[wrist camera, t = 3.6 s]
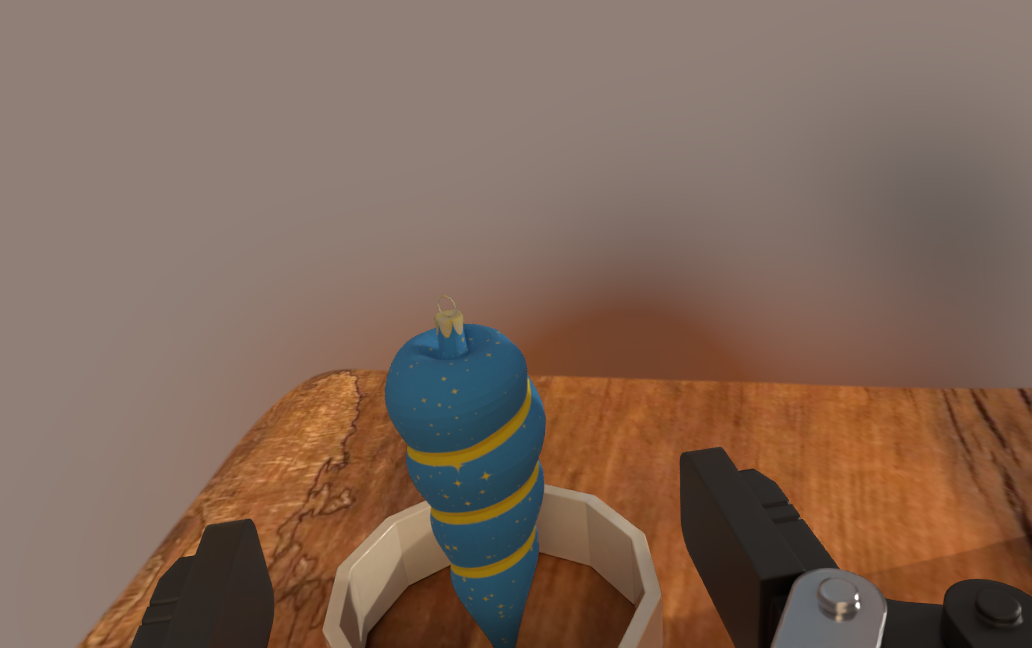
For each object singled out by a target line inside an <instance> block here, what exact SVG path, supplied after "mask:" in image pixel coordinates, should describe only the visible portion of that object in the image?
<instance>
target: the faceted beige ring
mask: <svg viewBox="0 0 1032 648" xmlns="http://www.w3.org/2000/svg"><path fill="white" fill-rule="evenodd" d="M430 511H431V506H430V505H429V504H428V502H427V501H426V500H425V501H423V502H421V503H419V504H416V505H414V506H412V507H410V508H407V509H405V510H403V511H401V512H399V513H396V514H394V515H392V516H390V517H388V518H386V519H385V520H384V521H383V522H382V523H381V524H380V525H379V526H378V527H377V528H376V529H375V530H374V531H373V532H372V533H371V534H370V535H369V536H368V537H367V538H366V539H365V540H364V541H363V542H362V543H361V544H360V545H359V546H358V547H357V548H356V549H355V550H354V551H353V552H352V553H351V554H350V555H349V556H348V557H347V558H346V559H345V561H344V562H343V563H342V564H341V565H340V566H339V567H338V568H337V572H336V577H335V581H334V585H333V589H332V593H331V597H330V601H329V605H328V609H327V614H326V618H325V622H324V626H323V634H324V638H325V642H326V645H327V648H365V645H366V640H367V634H368V633H369V631H370V630H371V629H372V628H373V627H374V626H375V624H376V623H377V622H378V621H379V620H380V619H381V617H382V616H383V615H384V614H385V613H386V612H387V610H388V609H389V608H390V607H391V606H392V604H393V603H394V602H395V601H396V600H397V599H398V597H399V596H400V595H401V594H402V593H403V592H404V590H405V589H406V588H407V587H408V586H409V585H411V584H413V583H415V582H417V581H419V580H421V579H423V578H425V577H427V576H429V575H431V574H433V573H435V572H437V571H439V570H441V569H443V568H445V567H447V566H449V565H451V562H450V560H449V559H448V557H447V556H446V555H445V553H444V552H443V550H442V549H441V547H440V545H439V544H438V542H437V540H436V538H435V536H434V534H433V531H432V527H431V522H430ZM536 527H537V531H538V536H539V552H541V553H544V554H548V555H552V556H555V557H559V558H563V559H566V560H570V561H574V562H577V563H581V564H585V565H588V566H591V567H592V568H593V569H594V570H596V571H597V572H598V573H599V574H600V575H601V576H602V577H603V578H605V579H606V580H607V581H608V582H609V583H610V584H611V585H612V586H614V587H615V588H616V589H617V590H618V591H619V592H620V593H621V594H622V595H624V596H625V597H626V598H627V599H628V600H629V601H630V602H631V603H633V604H634V606H635V610H636V612H635V614H634V616H633V618H632V620H631V622H630V624H629V626H628V628H627V630H626V632H625V634H624V636H623V638H622V640H621V642H620V644H619V646H618V648H664V636H663V608H662V592H661V588H660V585H659V581H658V578H657V574H656V571H655V568H654V564H653V561H652V557H651V554H650V550H649V547H648V543H647V540H646V536H645V534H644V533H643V532H641V531H640V530H639V529H638V528H636V527H635V526H634V525H632V524H631V523H630V522H629V521H627V520H626V519H625V518H623V517H622V516H621V515H619V514H618V513H617V512H616V511H614V510H613V509H612V508H610V507H609V506H608V505H606V504H605V503H604V502H603V501H601V500H600V499H599V498H597V497H596V496H595V495H591V494H587V493H582V492H578V491H573V490H569V489H564V488H560V487H556V486H551V485H547V484H544V495H543V501H542V505H541V509H540V512H539V515H538V518H537V521H536Z"/></svg>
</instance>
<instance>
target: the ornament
mask: <svg viewBox="0 0 1032 648" xmlns="http://www.w3.org/2000/svg"><path fill="white" fill-rule="evenodd" d="M441 297H447V298H449V299H450V300H451V301H452V302H453V304H454V307H455V310H445V311H441V309H440V307H439V299H440V298H441ZM437 306H438V309H439V311H440V313H438V314H436V315H435V316H434V320H435V326H436V328H434V329H431V330H429V331H426V332H424V333H421V334H419V335H417V336H415V337H414V338H412V339H410V340H409V341H408V342H406V344H405V345H404V346H403V347H402V348H401V349H400V350H399V351H398V352H397V354H396V356H395V358H394V360H393V362H392V363H391V366H390V369H389V372H388V375H387V380H386V387H385V400H386V407H387V410H388V413H389V416H390V418H391V420H392V422H393V424H394V426H395V428H396V429H397V431H398V432H399V434H400V435H401V436H402V438H403V439H404V440H405V442H406V443H407V445H408V447H407V453H406V464H407V469H408V473H409V476H410V477H411V479H412V481H413V483H414V485H415V486H416V488H417V489H418V491H419V492H420V494H421V495H422V496H423V497H424V499H425V500H426V501H427V502H428V504H429V505H430V506H431V511H430V522H431V527H432V531H433V534H434V536H435V538H436V540H437V542H438V544H439V545H440V547H441V549H442V550H443V552H444V553H445V555H446V556H447V557H448V559H449V560H450V562H451V571H450V574H451V581H452V585H453V587H454V590H455V592H456V594H457V596H458V597H459V599H460V601H461V602H462V604H463V605H464V607H465V608H466V609H467V611H468V612H469V613H470V615H471V616H472V617H473V619H474V620H475V621H476V623H477V624H478V626H479V627H480V628H481V630H482V631H483V632H484V634H485V635H486V636H487V638H488V639H489V641H490V642H491V643H492V645H493V647H494V648H515V646H516V642H517V638H518V633H519V628H520V624H521V620H522V616H523V612H524V608H525V604H526V600H527V597H528V594H529V590H530V587H531V584H532V580H533V577H534V573H535V570H536V565H537V560H538V554H539V536H538V531H537V527H536V521H537V518H538V515H539V512H540V509H541V505H542V501H543V495H544V475H543V469H542V466H541V463H540V461H539V455H540V452H541V449H542V446H543V441H544V437H545V424H546V417H545V412H544V408H543V404H542V401H541V398H540V396H539V394H538V392H537V390H536V388H535V386H534V385H533V383H532V381H531V379H530V378H529V376H528V374H527V366H526V361H525V358H524V356H523V354H522V353H521V351H520V350H519V349H518V348H517V347H516V345H514V344H513V343H512V342H511V341H510V340H509V339H508V338H507V337H506V336H505V335H503V334H502V333H501V332H499V331H498V330H496V329H493V328H490V327H486V326H481V325H476V324H464V322H463V315H462V313H461V312H460V311H459V310H456V304H455V302H454V301H453V299H452V298H450V297H448V296H446V295H442V296H440V297H439V298H438V300H437Z"/></svg>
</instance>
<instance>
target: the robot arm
mask: <svg viewBox="0 0 1032 648" xmlns="http://www.w3.org/2000/svg"><path fill="white" fill-rule="evenodd" d="M680 503H681V526H682V532H683V537H684V541H685V544H686V547H687V550H688V552H689V555H690V557H691V559H692V561H693V563H694V565H695V567H696V569H697V571H698V573H699V575H700V577H701V579H702V581H703V583H704V585H705V587H706V589H707V591H708V593H709V595H710V597H711V599H712V601H713V603H714V605H715V607H716V609H717V611H718V613H719V615H720V617H721V619H722V621H723V623H724V625H725V627H726V629H727V631H728V633H729V635H730V637H731V639H732V641H733V643H734V645H735V648H1032V597H1031V596H1030V595H1028V594H1026V593H1025V592H1023V591H1021V590H1019V589H1017V588H1015V587H1013V586H1010V585H1007V584H1004V583H1001V582H997V581H992V580H985V579H969V580H964V581H960V582H958V583H955V584H954V585H952V586H951V587H950V588H949V589H948V590H947V591H946V593H945V596H944V602H943V605H939V604H926V603H914V602H902V601H895V600H890V599H886V598H884V596H883V594H882V593H881V591H880V590H879V589H878V588H877V587H876V586H875V585H874V584H872V583H871V582H870V581H868V580H867V579H865V578H863V577H862V576H859V575H857V574H855V573H852V572H849V571H845V570H840V569H839V567H838V566H837V564H836V563H835V562H834V560H833V559H832V558H831V556H830V555H829V554H828V552H827V551H826V550H825V548H824V547H823V546H822V544H821V543H820V542H819V540H818V539H817V538H816V536H815V535H814V533H813V532H812V531H811V529H810V528H809V527H808V525H807V524H806V523H805V521H804V520H803V519H801V518H800V515H799V513H798V512H797V511H796V509H795V508H794V507H793V505H792V504H790V503H789V500H788V498H787V497H786V496H785V494H784V493H783V492H782V490H781V489H780V488H779V486H778V485H777V484H776V482H774V481H772V480H771V479H769V478H768V477H766V476H764V475H763V474H761V473H760V472H758V471H757V470H755V469H748V470H741V471H738V469H737V468H736V467H735V465H734V464H733V462H732V461H731V459H730V458H729V456H728V455H727V453H726V452H725V451H724V449H723V448H722V447H716V448H709V449H703V450H696V451H690V452H684V453H682V454H681V457H680ZM273 617H274V595H273V588H272V584H271V580H270V576H269V573H268V569H267V566H266V562H265V559H264V555H263V552H262V548H261V545H260V541H259V537H258V534H257V530H256V527H255V525H254V523H253V521H252V520H251V519H244V520H237V521H231V522H224V523H218V524H211V525H208V526H207V527H206V528H205V531H204V533H203V536H202V538H201V541H200V544H199V546H198V549H197V552H196V554H195V555H194V556H188V557H181V558H179V559H178V560H177V561H176V562H175V563H174V564H173V565H172V566H171V567H170V568H169V569H168V571H167V572H166V573H165V574H164V575H163V576H162V577H161V578H160V579H159V581H158V583H157V586H156V588H155V590H154V593H153V595H152V598H151V600H150V607H147V609H146V612H145V614H144V616H143V619H142V625H141V626H139V628H138V631H137V633H136V635H135V638H134V640H133V643H132V645H131V647H130V648H267V646H268V642H269V637H270V632H271V628H272V623H273Z"/></svg>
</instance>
